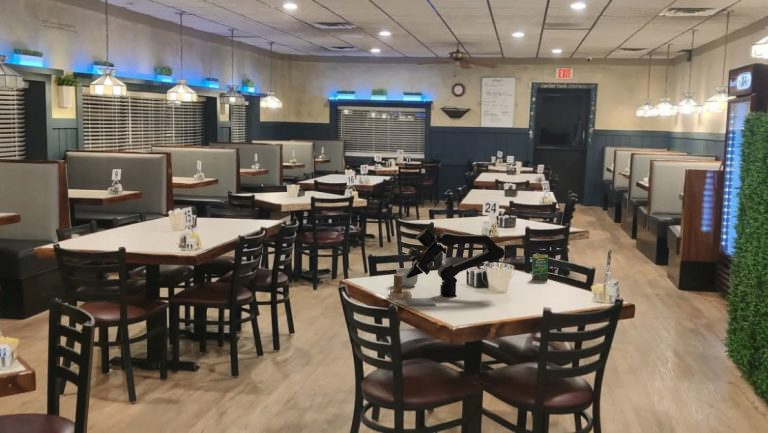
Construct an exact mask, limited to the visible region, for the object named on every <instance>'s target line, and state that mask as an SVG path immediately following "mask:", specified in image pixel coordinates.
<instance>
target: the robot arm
mask: <svg viewBox="0 0 768 433" xmlns="http://www.w3.org/2000/svg"><path fill="white" fill-rule="evenodd" d="M415 239H416V240H417V241H418V243H420V244H421V245H422V247H427V249H426V250H422V251H421V249H419V248H415V247H410V249H409V250H408V252H407V254H408V255H410V256H411V257H410V258H409V259H410V260H411V268H409V269H410V271H409V272H408V274H407V276H406V277H407V278H411V277H413V276H416V275H418V276H419V275H422V274H425V275H429V274H430V273H431V272H430V271H431V269H430V268H429V265H430V264H431V263H434V262H435V259H436V258H437V257H438V256H440V255H441V253H443V254H444V255H447V248H446V247H452V246H456V245H459V244H460V245H461V244H465V245H466V244H473V245H474V244H476V245H477V244H480V245H481V244H483V245H484V246H485V248H486V249H485V250H484V251H483V252H481V253H479V254H476V255H474V256H472V257H469V258H466V259H464V260H461V261H459V262H456V263H452V262H451V261H448V262H446V263H444V264H441V266H439V268H438V269H437V275H438V276H439V278H441V284H440V290H439V294H440V295H441V296H442V298H443V297H444V298H445V297H447V298H449V297H451V298H455V297H457V294H456V293H457V282H458V279H457V278H456V276H457V275H458V274H459V273H461V272H463V271H466V270H468V269H471V268H473V267H476V266H479V265H481V264H483V263H485V262H490V261H497V260H502V259H503V258H504V256H505V249H504V248H503V247H501V246H499V245H497V244H496V242H494V240H492V239H491V238H490V236H488V235H487V234H456V233H451V232H444V231H443V232H441V233H440V234H437V235H435V234H434V235H433V234H432V232H430V229H428V228H425V229H424V230H422V231H421V232H420V231H419V233H418V234H417V235H416V237H415ZM442 245H443V246H442ZM444 246H445V247H444Z"/></svg>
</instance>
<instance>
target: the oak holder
mask: <svg viewBox="0 0 768 433" xmlns="http://www.w3.org/2000/svg"><path fill="white" fill-rule="evenodd" d="M393 292H394V289H390V290H389V294H390V298H391V300H392V299H393V300H396V299H397V300H406V298H413V295H412V292H411V290H410V289H402V293H393Z"/></svg>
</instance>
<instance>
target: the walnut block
mask: <svg viewBox="0 0 768 433" xmlns="http://www.w3.org/2000/svg"><path fill="white" fill-rule="evenodd" d="M393 290H394V292H393V293H402V290H403V286H402V275H401V274H397V273H396V274H395V273H394V274H393Z"/></svg>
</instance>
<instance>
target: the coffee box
mask: <svg viewBox="0 0 768 433" xmlns="http://www.w3.org/2000/svg"><path fill="white" fill-rule="evenodd" d="M531 259H532V261H531V265H532V266H531V267H532V268H531V279H532V280H534V281H548V278H549V255H548V254H532V258H531Z"/></svg>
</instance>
